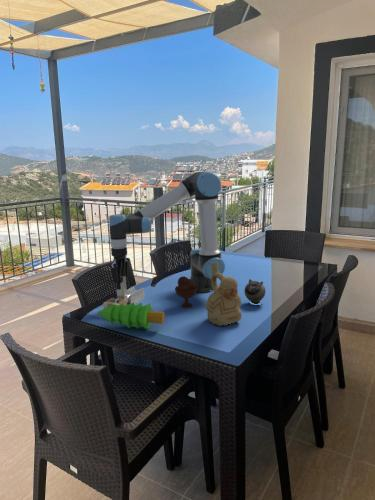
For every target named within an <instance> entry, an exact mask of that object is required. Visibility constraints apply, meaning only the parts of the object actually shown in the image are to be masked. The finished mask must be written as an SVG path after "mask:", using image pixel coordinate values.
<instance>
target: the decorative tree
mask: <svg viewBox="0 0 375 500" xmlns="http://www.w3.org/2000/svg"><path fill="white" fill-rule="evenodd" d="M96 314H98V315H100V317H102V318H103V319H105V320H106V321H108V322H109V323H110V324H114V323H115V322H116V323H117V324H118V325H122V324H123V325H124V326H125V327H127V328H128V329H130V328H132V327H133V326H134V327H135V328H136V329H140V328H141V327H143V328H144V329H145V330H149V328H150V327H151V323H153V324H158V325H159V324H160V325H163V324H164V322H165V311H153V308H152V305H151V303H147V304H145V305H143V303H142V302H139V303H138V304H137V305H136V304H134V303H131V304H129V305H126V306H124V304H121V305H119V306H116V304H114V305H112V306H109V307H107V308H105V309H103V308H102V309H100V310H98V311H96ZM132 325H133V326H132ZM131 326H132V327H131Z"/></svg>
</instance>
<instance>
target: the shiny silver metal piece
mask: <svg viewBox="0 0 375 500" xmlns="http://www.w3.org/2000/svg"><path fill="white" fill-rule="evenodd" d="M126 279H127V278H126V276H121V282H122V288H123V296H119V295H117V294H116V298H117V300H115V303H118V302H120V301H122V300H123V299H124V300H127V303H128V302H129V296H130V295H131V294H133V293H134V292H136V291H137V290H138V289H135V290H133V291H131V292H130V293H128V294H127V291H126V290H127V280H126ZM115 285H116V284H115ZM116 288H117V285H116Z"/></svg>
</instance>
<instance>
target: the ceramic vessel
mask: <svg viewBox="0 0 375 500" xmlns="http://www.w3.org/2000/svg"><path fill="white" fill-rule="evenodd" d="M211 266H212V272H213V274H212V276H211V284H212V288H213V292H212V293H211V294H210V295H209V296H208V298H207V300H206V303H205V309H206V311H207V318H208V320H209V322H210V323H211V324H213V325H215V324H216V325H215V326H218V327H223V326H222V325H224V326H229V325H228V324H230V325H232V324H231V323H233V324H235V323H234V322H237V323H239V322H240V321H241V319H242V315H243V313H242V311H241V309H240V307H241V305H242V299H241V296H240V294H239V293H238V292H239V289H238V286H239V283H238V280H236V278H234V277H231V276H225V275H224V273H223V274H221V273H219V271H218V263H211ZM217 279H218V280H219V281H220V282H219V285H218V281H217ZM238 321H239V322H238Z"/></svg>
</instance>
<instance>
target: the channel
mask: <svg viewBox="0 0 375 500" xmlns="http://www.w3.org/2000/svg"><path fill="white" fill-rule="evenodd" d="M133 290H135V286H131V287H129V288H126V291H127V294H128V293H130V292H131V291H133ZM136 290H137V291H136V292H134V293H133V294H131V295H130V296H129V302H128V303H127V305H129V304H131V303H134V304H135V305H136V304H137V303H138V304H139V303H140V302H141V301H142V300H144V299H145V295H146V294H145V287H141V288H139V289H136Z"/></svg>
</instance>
